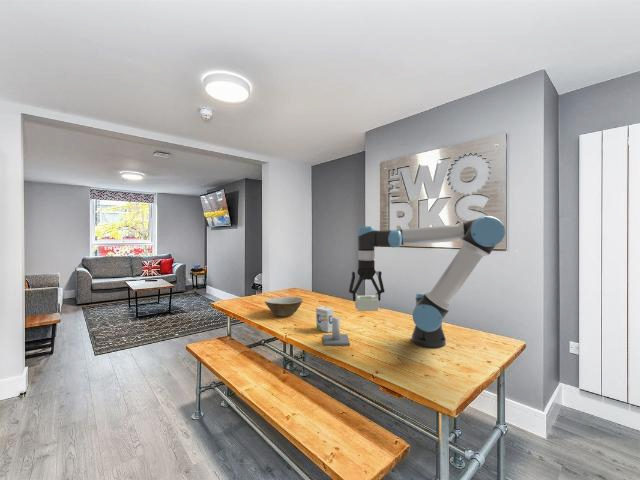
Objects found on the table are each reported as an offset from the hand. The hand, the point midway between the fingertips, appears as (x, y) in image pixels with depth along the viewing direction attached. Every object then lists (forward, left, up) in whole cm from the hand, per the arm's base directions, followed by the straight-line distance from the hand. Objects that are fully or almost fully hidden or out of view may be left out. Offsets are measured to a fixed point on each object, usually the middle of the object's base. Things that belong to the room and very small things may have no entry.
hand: (366, 307), depth 140 cm
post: (+14, -4, -17) cm, 23 cm away
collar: (0, 0, 0) cm, 0 cm away
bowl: (+44, -50, -17) cm, 69 cm away
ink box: (+19, -20, -17) cm, 33 cm away
